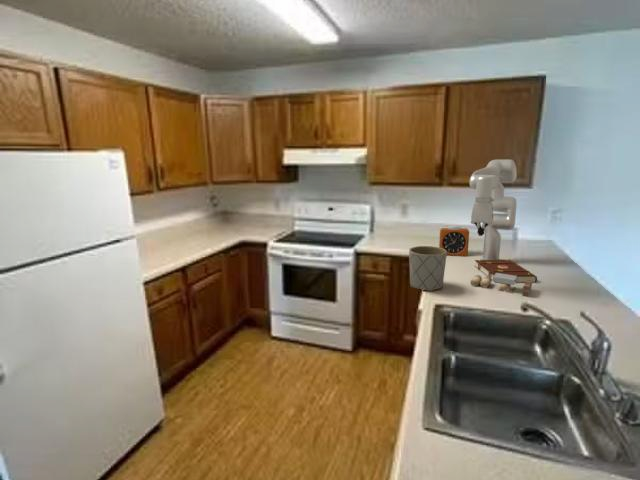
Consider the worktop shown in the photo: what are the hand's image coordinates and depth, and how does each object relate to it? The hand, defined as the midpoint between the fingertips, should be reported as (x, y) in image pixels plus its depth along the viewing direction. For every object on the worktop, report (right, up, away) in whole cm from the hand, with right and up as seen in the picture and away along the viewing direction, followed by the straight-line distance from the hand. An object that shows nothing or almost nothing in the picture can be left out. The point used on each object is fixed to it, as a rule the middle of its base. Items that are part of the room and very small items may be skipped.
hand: (480, 235), depth 199 cm
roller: (+13, -28, -3) cm, 31 cm away
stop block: (+20, -29, -8) cm, 36 cm away
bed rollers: (+7, -27, +2) cm, 28 cm away
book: (+23, -23, +23) cm, 39 cm away
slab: (+11, -24, -2) cm, 26 cm away
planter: (-27, -27, +5) cm, 39 cm away
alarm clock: (+8, -13, +65) cm, 67 cm away
